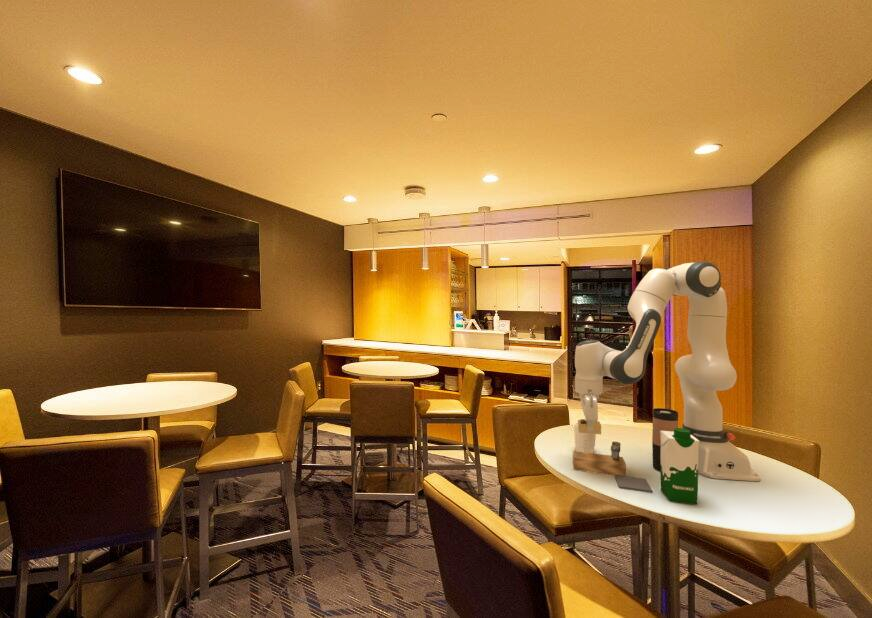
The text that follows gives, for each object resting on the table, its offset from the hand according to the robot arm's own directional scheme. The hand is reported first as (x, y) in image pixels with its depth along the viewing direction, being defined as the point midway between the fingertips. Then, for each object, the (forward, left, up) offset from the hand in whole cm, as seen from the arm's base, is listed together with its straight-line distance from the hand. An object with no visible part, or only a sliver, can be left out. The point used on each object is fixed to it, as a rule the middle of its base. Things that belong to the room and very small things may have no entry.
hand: (589, 427), depth 131 cm
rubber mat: (-12, +9, -14) cm, 20 cm away
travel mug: (-25, -8, -14) cm, 30 cm away
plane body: (-3, 0, -14) cm, 14 cm away
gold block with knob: (0, 0, -1) cm, 1 cm away
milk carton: (-23, +14, -14) cm, 30 cm away
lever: (-8, +4, -7) cm, 11 cm away
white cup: (0, -17, -14) cm, 22 cm away
